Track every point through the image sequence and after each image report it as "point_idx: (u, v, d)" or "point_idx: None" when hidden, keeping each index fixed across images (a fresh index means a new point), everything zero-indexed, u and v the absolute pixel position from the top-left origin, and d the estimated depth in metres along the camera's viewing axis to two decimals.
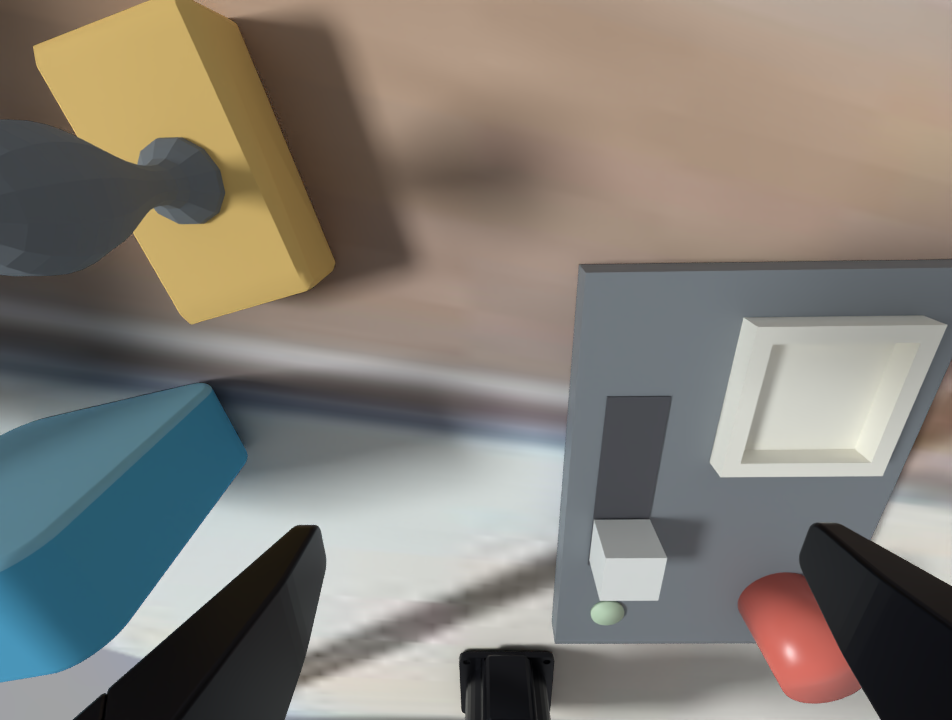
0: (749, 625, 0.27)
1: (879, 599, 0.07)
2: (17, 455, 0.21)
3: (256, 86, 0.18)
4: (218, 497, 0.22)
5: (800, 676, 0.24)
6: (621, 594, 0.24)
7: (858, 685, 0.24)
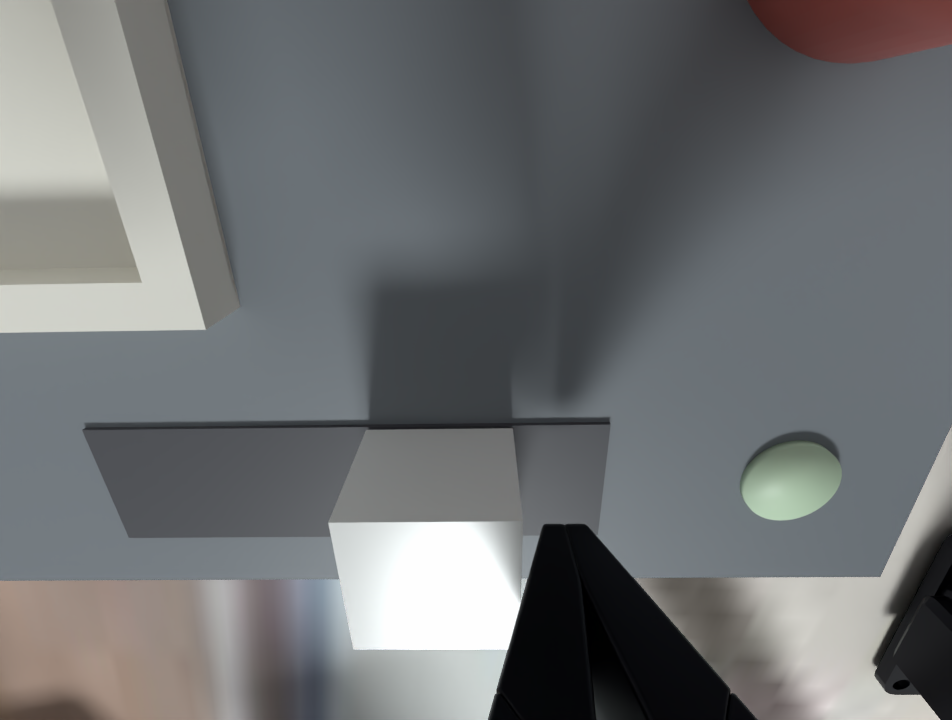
0: None
1: None
2: None
3: None
4: None
5: None
6: (494, 609, 0.08)
7: None
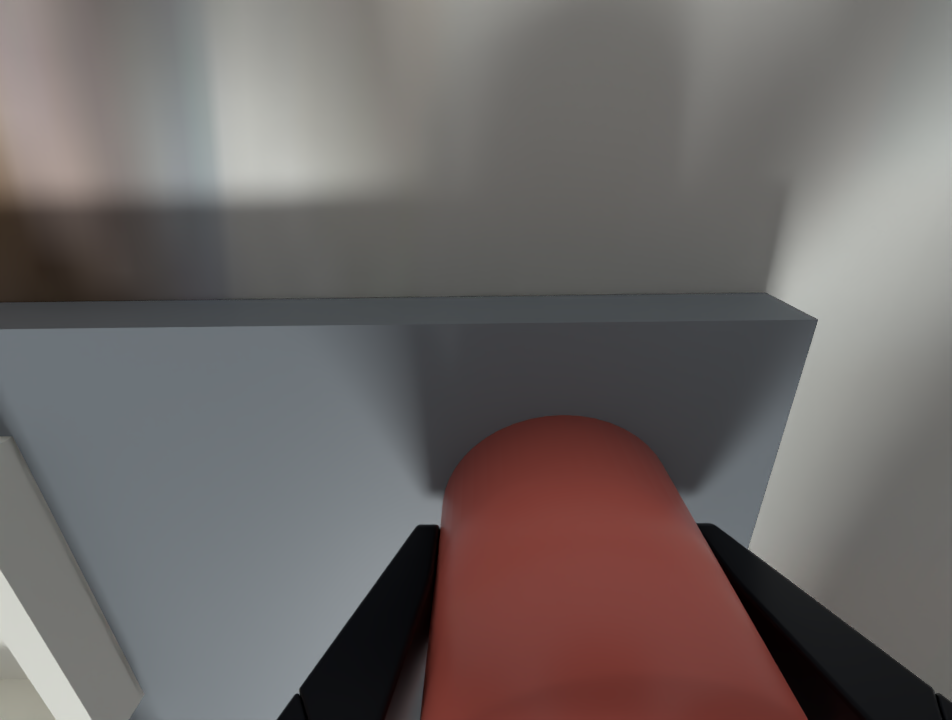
0: None
1: None
2: None
3: None
4: None
5: None
6: None
7: (710, 703, 0.04)
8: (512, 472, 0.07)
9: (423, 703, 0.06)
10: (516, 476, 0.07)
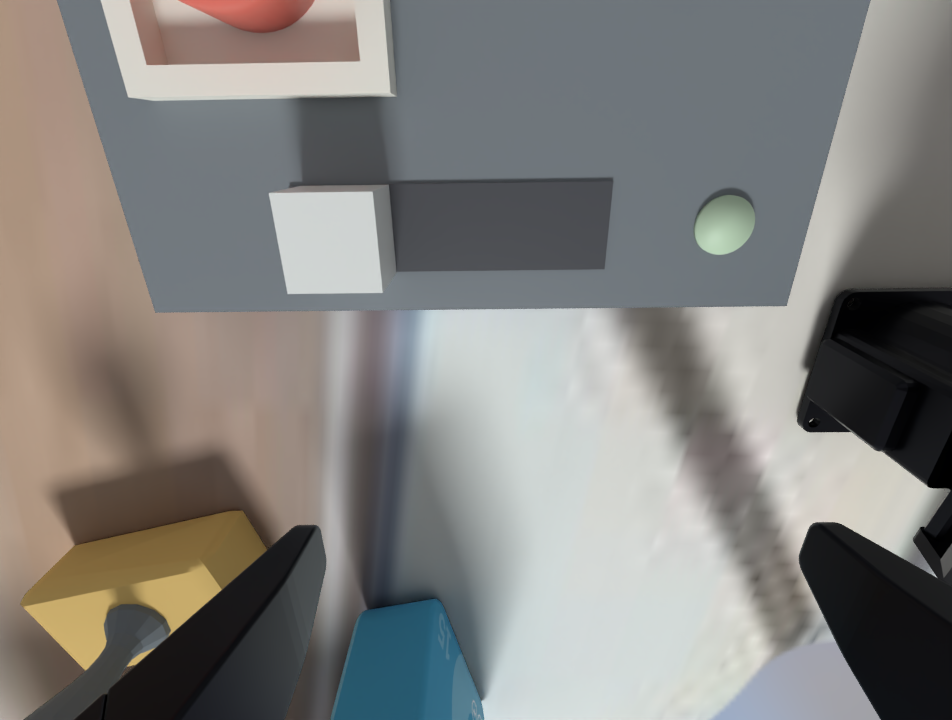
0: (256, 20, 0.13)
1: (879, 599, 0.07)
2: None
3: (101, 546, 0.24)
4: (424, 661, 0.22)
5: None
6: (364, 259, 0.14)
7: None
8: None
9: None
10: None
